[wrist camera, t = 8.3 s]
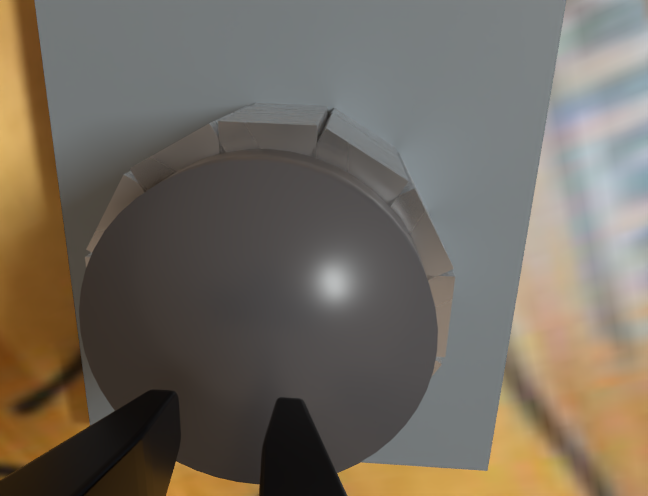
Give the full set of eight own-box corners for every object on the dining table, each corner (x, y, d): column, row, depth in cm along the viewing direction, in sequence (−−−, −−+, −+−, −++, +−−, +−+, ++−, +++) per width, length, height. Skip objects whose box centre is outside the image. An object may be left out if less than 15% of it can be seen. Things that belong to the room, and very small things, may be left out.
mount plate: (478, 442, 20) (487, 470, 19) (110, 417, 21) (92, 444, 20) (553, -36, 15) (574, -46, 14) (55, -51, 16) (26, -62, 14)
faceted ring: (413, 368, 18) (431, 466, 14) (165, 353, 18) (107, 444, 14) (440, 110, 15) (473, 131, 11) (147, 98, 15) (68, 114, 11)
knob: (402, 370, 17) (420, 494, 12) (170, 357, 17) (99, 473, 12) (424, 132, 14) (457, 171, 10) (153, 122, 15) (55, 154, 10)
